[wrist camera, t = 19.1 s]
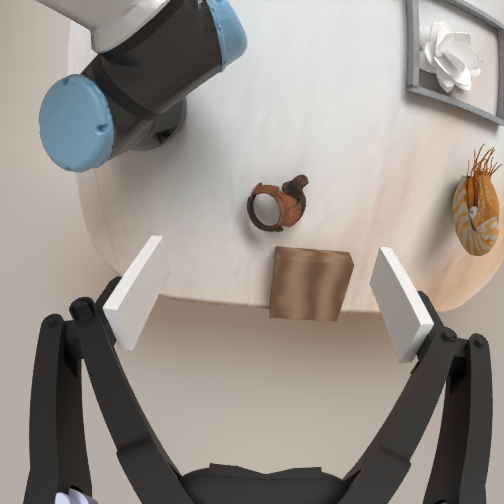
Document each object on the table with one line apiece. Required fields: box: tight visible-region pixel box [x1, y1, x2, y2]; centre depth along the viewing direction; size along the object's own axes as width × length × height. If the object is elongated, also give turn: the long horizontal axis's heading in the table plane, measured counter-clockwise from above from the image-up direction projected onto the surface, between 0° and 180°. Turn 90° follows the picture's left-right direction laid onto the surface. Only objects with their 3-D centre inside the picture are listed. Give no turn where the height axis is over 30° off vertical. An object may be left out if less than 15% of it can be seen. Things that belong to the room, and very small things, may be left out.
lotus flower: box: [419, 21, 483, 93], centre depth 29 cm, size 14×15×9 cm
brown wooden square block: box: [270, 246, 354, 321], centre depth 58 cm, size 15×15×5 cm
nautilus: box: [452, 144, 502, 256], centre depth 39 cm, size 8×22×15 cm, turn 176°
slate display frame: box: [406, 0, 504, 126], centre depth 30 cm, size 25×24×2 cm
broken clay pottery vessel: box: [247, 175, 309, 232], centre depth 48 cm, size 12×9×8 cm
